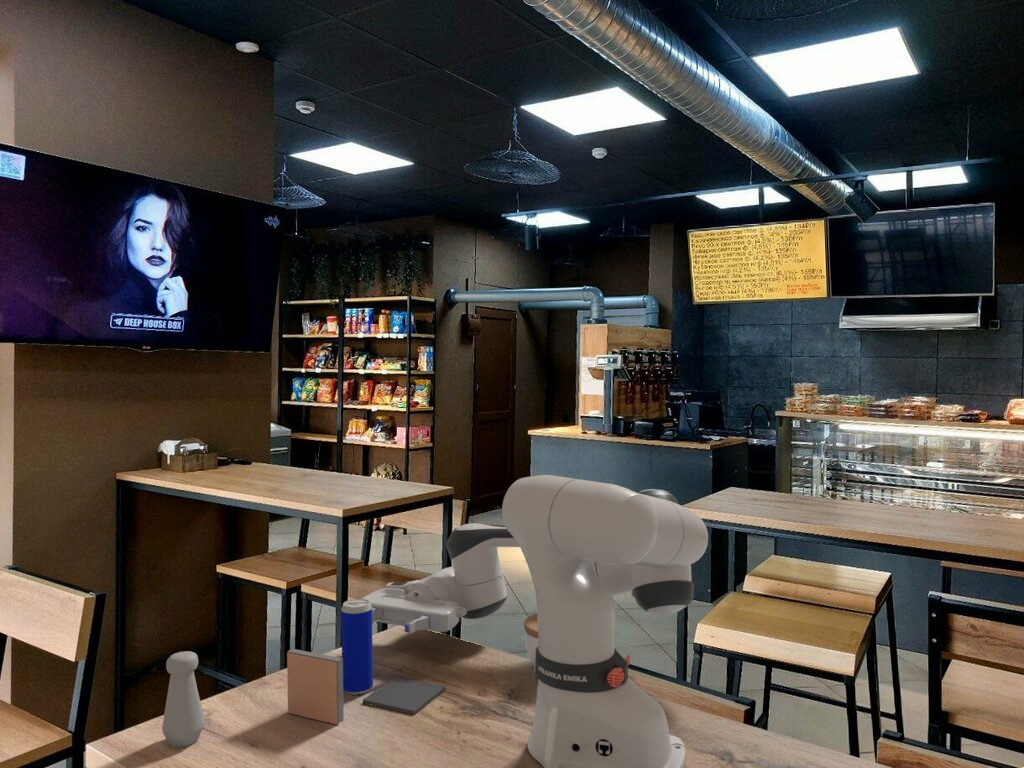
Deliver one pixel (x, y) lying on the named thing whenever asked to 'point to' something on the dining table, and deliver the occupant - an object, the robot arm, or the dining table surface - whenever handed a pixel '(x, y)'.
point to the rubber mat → (405, 695)
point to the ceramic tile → (315, 686)
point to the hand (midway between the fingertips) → (385, 624)
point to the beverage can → (357, 646)
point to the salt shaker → (182, 702)
